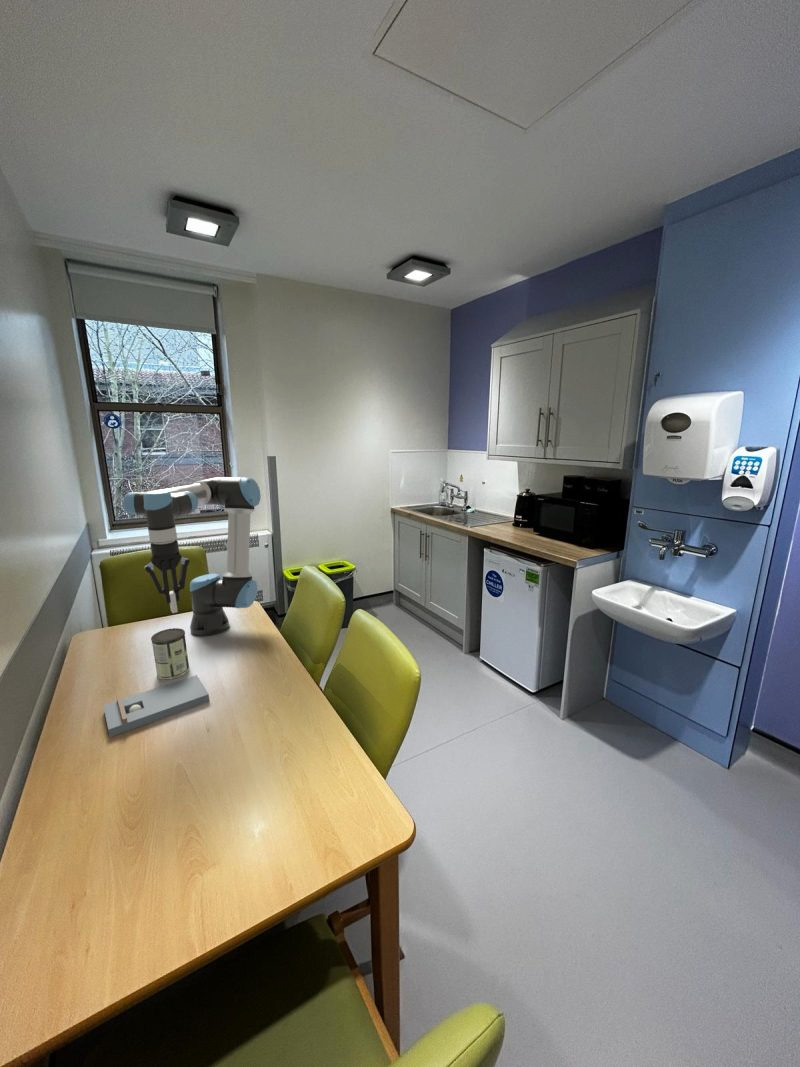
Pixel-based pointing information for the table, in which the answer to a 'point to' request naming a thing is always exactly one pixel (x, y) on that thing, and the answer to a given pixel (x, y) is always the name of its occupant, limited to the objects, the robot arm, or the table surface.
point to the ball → (134, 708)
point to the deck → (154, 704)
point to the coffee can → (170, 653)
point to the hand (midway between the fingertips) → (174, 611)
